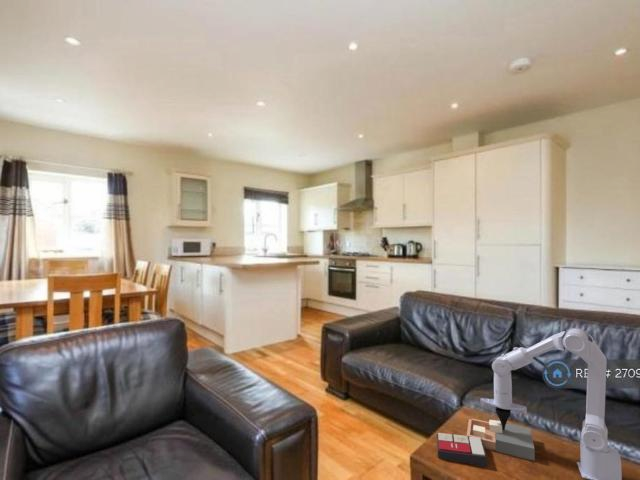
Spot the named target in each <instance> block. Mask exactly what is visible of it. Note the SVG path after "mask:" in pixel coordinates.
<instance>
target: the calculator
mask: <svg viewBox="0 0 640 480" xmlns="http://www.w3.org/2000/svg"><path fill="white" fill-rule="evenodd" d="M436 442H437V443H436V445H437V446H436V449H437V458H438V459H439V460H443V461H444V460H445V461H450V462H456V463H462V464H467V465H468V464H469V465H473V466H477V467H482V468H488V458H487V457H488V456H487V453H486V449H484V445H483V442H482V439H481V438H476V437H468V436H467V435H464V434H463V435H461V434H452V433H444V432H438V433H437V434H436Z"/></svg>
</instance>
